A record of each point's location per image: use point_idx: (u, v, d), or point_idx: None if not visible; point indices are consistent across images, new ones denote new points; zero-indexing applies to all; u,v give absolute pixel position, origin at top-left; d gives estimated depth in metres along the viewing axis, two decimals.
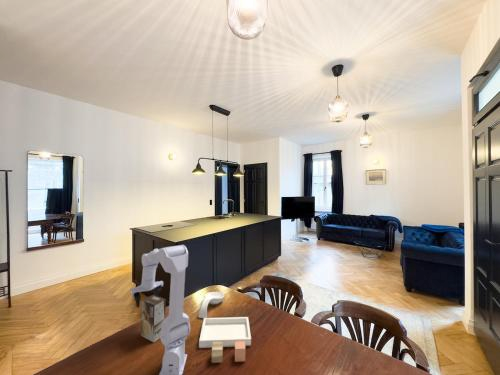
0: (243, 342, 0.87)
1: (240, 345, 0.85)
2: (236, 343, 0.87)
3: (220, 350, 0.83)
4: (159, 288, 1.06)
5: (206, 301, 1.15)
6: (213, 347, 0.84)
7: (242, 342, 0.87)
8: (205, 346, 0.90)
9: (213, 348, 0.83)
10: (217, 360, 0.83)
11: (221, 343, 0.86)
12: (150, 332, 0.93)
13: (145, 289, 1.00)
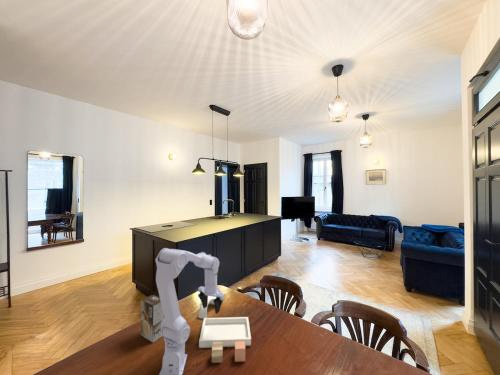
0: (243, 342, 0.87)
1: (240, 345, 0.86)
2: (236, 343, 0.87)
3: (220, 350, 0.83)
4: (217, 300, 0.97)
5: None
6: (213, 347, 0.84)
7: (242, 342, 0.87)
8: (205, 346, 0.90)
9: (213, 348, 0.83)
10: (217, 360, 0.83)
11: (221, 343, 0.86)
12: (149, 332, 0.93)
13: (204, 292, 1.00)
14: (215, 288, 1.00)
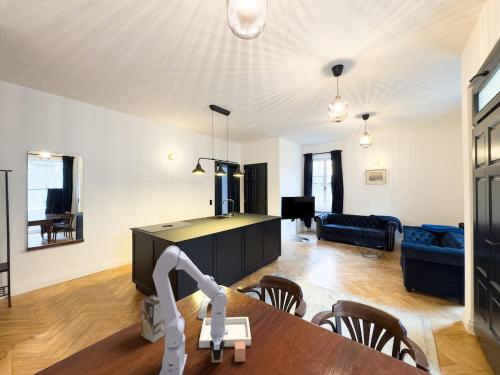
0: (243, 342, 0.87)
1: (240, 345, 0.86)
2: (236, 343, 0.87)
3: None
4: (212, 343, 0.81)
5: (206, 302, 1.15)
6: None
7: (242, 342, 0.87)
8: (205, 346, 0.90)
9: None
10: (217, 360, 0.83)
11: None
12: (149, 332, 0.94)
13: None
14: (217, 330, 0.82)
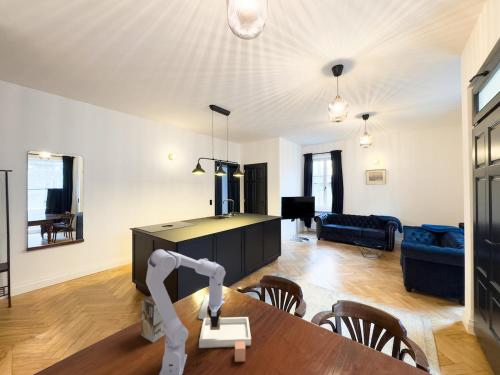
0: (243, 342, 0.87)
1: (240, 345, 0.85)
2: (236, 343, 0.87)
3: (218, 319, 0.92)
4: (210, 311, 0.90)
5: (206, 302, 1.15)
6: None
7: (242, 342, 0.87)
8: (205, 346, 0.90)
9: None
10: (215, 328, 0.92)
11: None
12: (149, 332, 0.94)
13: None
14: (215, 300, 0.91)
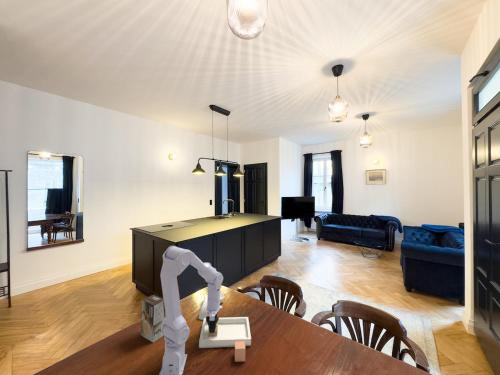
0: (243, 342, 0.87)
1: (240, 345, 0.86)
2: (236, 343, 0.87)
3: None
4: (208, 318, 0.93)
5: (206, 302, 1.14)
6: None
7: (242, 342, 0.87)
8: (205, 346, 0.90)
9: None
10: (213, 334, 0.97)
11: None
12: (149, 332, 0.94)
13: None
14: (212, 305, 0.96)
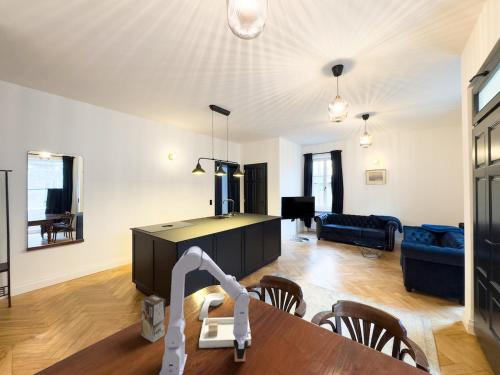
0: None
1: None
2: None
3: (215, 326, 0.97)
4: (236, 342, 0.82)
5: (207, 303, 1.14)
6: (209, 323, 0.98)
7: None
8: (205, 346, 0.90)
9: (209, 324, 0.97)
10: (213, 334, 0.97)
11: (216, 320, 1.00)
12: (149, 332, 0.94)
13: None
14: (240, 330, 0.83)
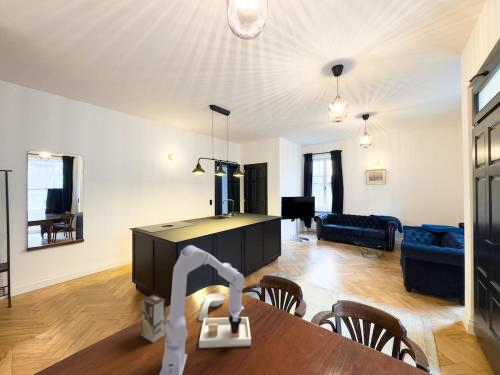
0: None
1: None
2: None
3: (215, 326, 0.97)
4: (231, 318, 0.94)
5: (206, 303, 1.13)
6: (209, 323, 0.98)
7: None
8: (205, 346, 0.90)
9: (209, 324, 0.97)
10: (213, 334, 0.97)
11: (216, 320, 1.00)
12: (149, 332, 0.94)
13: None
14: (235, 306, 0.96)
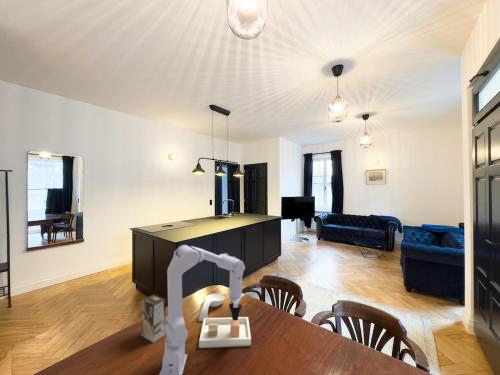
0: (237, 321, 1.00)
1: (235, 323, 0.98)
2: (231, 322, 0.99)
3: (215, 326, 0.97)
4: (231, 305, 0.93)
5: (206, 304, 1.13)
6: (209, 323, 0.98)
7: (237, 321, 1.00)
8: (205, 346, 0.90)
9: (209, 324, 0.97)
10: (213, 334, 0.97)
11: (216, 320, 1.00)
12: (149, 332, 0.94)
13: None
14: (235, 293, 0.96)
